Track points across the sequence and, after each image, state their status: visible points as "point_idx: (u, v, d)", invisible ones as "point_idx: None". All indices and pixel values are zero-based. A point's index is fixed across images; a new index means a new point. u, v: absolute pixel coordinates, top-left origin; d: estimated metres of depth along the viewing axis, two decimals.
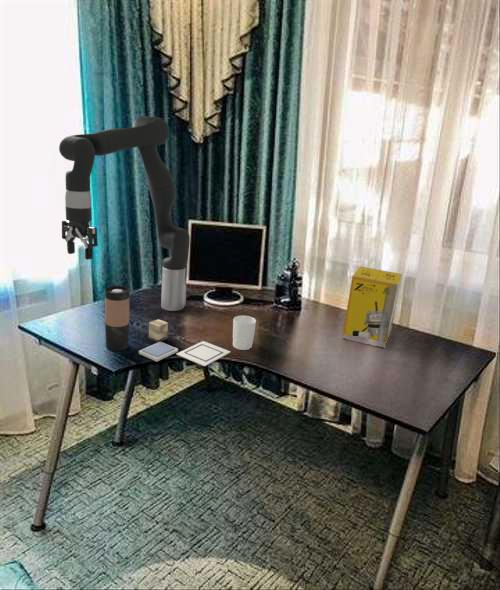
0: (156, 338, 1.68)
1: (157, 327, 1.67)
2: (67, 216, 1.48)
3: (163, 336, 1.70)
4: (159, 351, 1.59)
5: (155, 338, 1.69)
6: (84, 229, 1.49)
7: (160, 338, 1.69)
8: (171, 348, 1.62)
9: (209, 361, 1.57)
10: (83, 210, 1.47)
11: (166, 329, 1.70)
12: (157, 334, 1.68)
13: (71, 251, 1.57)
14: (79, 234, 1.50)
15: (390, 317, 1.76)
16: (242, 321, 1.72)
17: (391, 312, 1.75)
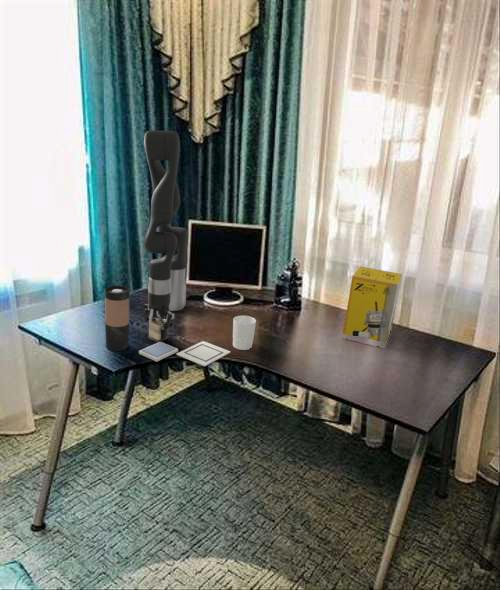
0: (156, 338, 1.68)
1: (157, 327, 1.67)
2: (150, 301, 1.64)
3: None
4: (159, 351, 1.59)
5: (155, 338, 1.68)
6: (165, 312, 1.65)
7: (160, 338, 1.69)
8: (171, 348, 1.62)
9: (209, 361, 1.57)
10: (165, 296, 1.63)
11: None
12: (157, 334, 1.68)
13: None
14: (159, 316, 1.66)
15: (390, 317, 1.76)
16: (242, 321, 1.72)
17: (391, 312, 1.75)
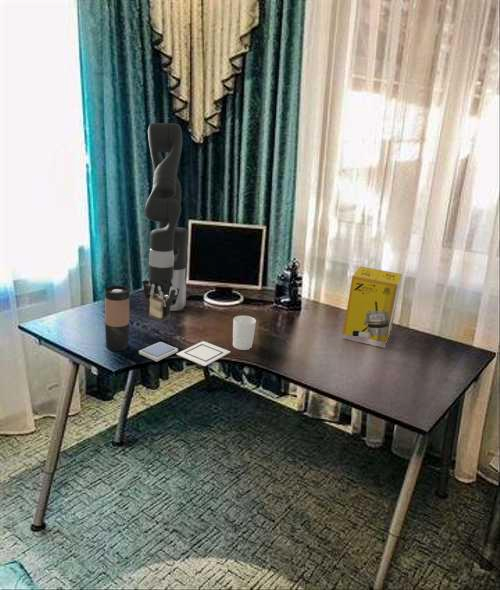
0: (157, 316, 1.54)
1: (159, 304, 1.52)
2: (151, 275, 1.49)
3: None
4: (159, 351, 1.59)
5: (157, 316, 1.54)
6: (167, 287, 1.50)
7: (162, 316, 1.54)
8: (171, 348, 1.62)
9: (209, 361, 1.57)
10: (167, 269, 1.48)
11: None
12: (159, 312, 1.53)
13: None
14: (160, 292, 1.51)
15: (390, 317, 1.76)
16: (242, 321, 1.72)
17: (391, 312, 1.75)
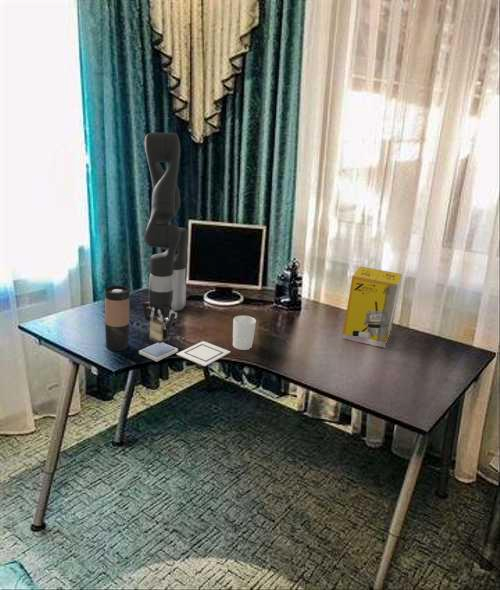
0: (158, 339, 1.56)
1: (159, 327, 1.55)
2: (151, 299, 1.52)
3: None
4: (159, 351, 1.59)
5: (157, 338, 1.57)
6: (167, 311, 1.53)
7: (162, 339, 1.57)
8: (171, 348, 1.62)
9: (209, 361, 1.57)
10: (167, 293, 1.51)
11: None
12: (159, 334, 1.56)
13: None
14: (160, 315, 1.54)
15: (390, 317, 1.76)
16: (242, 321, 1.72)
17: (391, 312, 1.75)
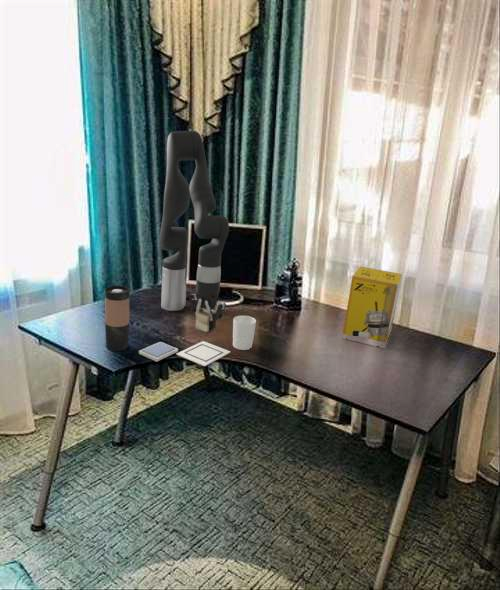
0: (204, 330, 1.57)
1: (205, 318, 1.56)
2: (199, 290, 1.53)
3: None
4: (159, 351, 1.59)
5: (203, 330, 1.58)
6: (214, 302, 1.54)
7: (208, 330, 1.58)
8: (171, 348, 1.62)
9: (209, 361, 1.57)
10: (215, 284, 1.52)
11: None
12: (205, 325, 1.57)
13: None
14: (207, 307, 1.55)
15: (390, 317, 1.76)
16: (242, 321, 1.72)
17: (391, 312, 1.75)
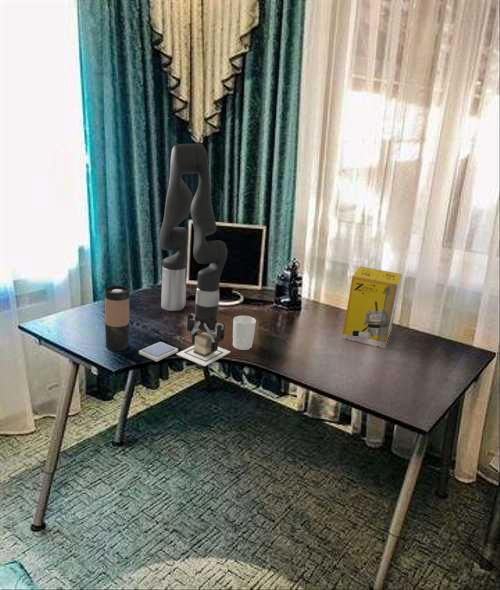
0: (202, 352, 1.60)
1: (204, 341, 1.59)
2: (198, 313, 1.56)
3: (209, 350, 1.62)
4: (159, 351, 1.59)
5: (201, 352, 1.60)
6: (213, 325, 1.57)
7: (206, 352, 1.61)
8: (171, 348, 1.62)
9: (209, 361, 1.57)
10: (213, 308, 1.55)
11: None
12: (204, 348, 1.59)
13: None
14: (207, 329, 1.57)
15: (390, 317, 1.76)
16: (242, 321, 1.72)
17: (391, 312, 1.75)
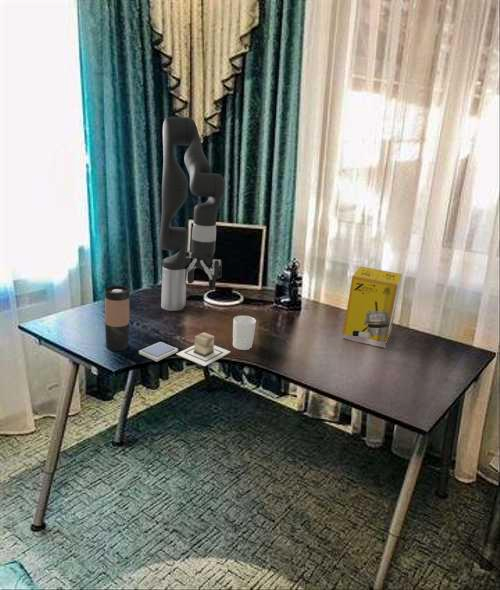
0: (202, 352, 1.60)
1: (204, 341, 1.59)
2: (194, 249, 1.52)
3: (209, 350, 1.62)
4: (159, 351, 1.59)
5: (201, 352, 1.60)
6: (210, 261, 1.53)
7: (206, 352, 1.61)
8: (171, 348, 1.62)
9: (209, 361, 1.57)
10: (210, 244, 1.51)
11: (212, 343, 1.62)
12: (204, 348, 1.59)
13: (191, 281, 1.61)
14: (204, 266, 1.54)
15: (390, 317, 1.76)
16: (242, 321, 1.72)
17: (391, 312, 1.75)
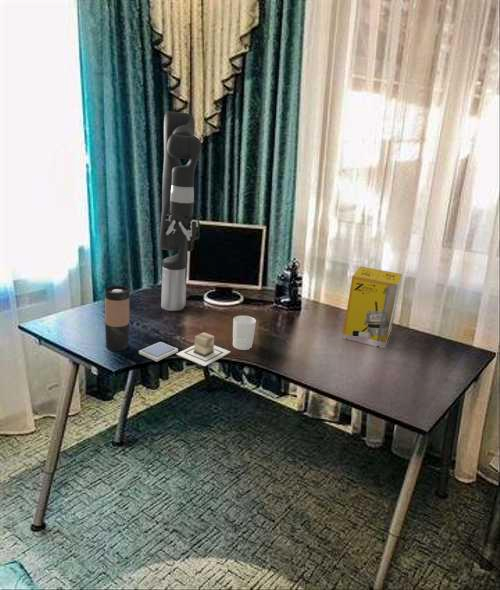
0: (202, 352, 1.60)
1: (204, 341, 1.59)
2: (172, 210, 1.57)
3: (209, 350, 1.62)
4: (159, 351, 1.59)
5: (201, 352, 1.60)
6: (187, 222, 1.58)
7: (206, 352, 1.61)
8: (171, 348, 1.62)
9: (209, 361, 1.57)
10: (188, 205, 1.56)
11: (212, 343, 1.62)
12: (204, 348, 1.59)
13: (170, 244, 1.66)
14: (182, 227, 1.59)
15: (390, 317, 1.76)
16: (242, 321, 1.72)
17: (391, 312, 1.75)
